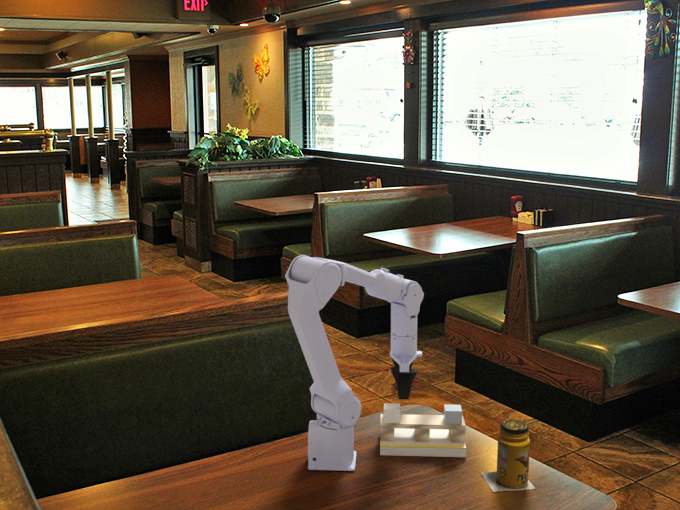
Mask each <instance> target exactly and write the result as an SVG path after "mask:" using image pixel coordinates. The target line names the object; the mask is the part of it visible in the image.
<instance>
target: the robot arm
mask: <svg viewBox="0 0 680 510" xmlns="http://www.w3.org/2000/svg"><path fill="white" fill-rule="evenodd" d="M284 277H285V279H286V282H287V285H288V292H287V296H288V297H287V313H288V316H289V318H290V321H291V323H292V326H293V327H292V328H293V329H294V332H295V334H296V337H297V339H298V343H299V345H300V346H299V347H301V348H300V349H301V351H302V353H303V356H304V359H305V361H306V362H305V363H306V364H307V367H308V370H309V373H310V375H311V378H312V380H313V383H312V384H311V386H310V387H309V391H310V396H311V397H310V399H311V400H310V405H311V406H310V407H311V409H312V410H313V411H314V412H315V413H316V419H315V420H313V419H312V420H310V421H309V423H308V431H307V435H308V436H307V457H308V459H307V460H308V462H307V463H308V465H307V469H308V470H309V471H338V472H339V471H342V472H343V471H344V472H347V471H348V472H354V471H355V470H356V463H357V461H356V460H357V451H356V450H354V449H355V447H354V446H355V443H354V442H355V440H354V439H355V438H354V437H355V433H354V431H355V428H354V427H355V425H356V423H357V422H358V420H359V419H360V417H361V413H362V409H363V408H362V403H361V400H360V399H359V398H358V397H356V395H355V394H354V392H353V389H352V388H351V387H350V385H349V384H348V383H347V382H346V381H345V380H344V379H343V378H342V376H341V373H340V371H339V370H340V369H339V367H338V365H337V362H336V359H335V356H334V354H333V350H332V347H331V344H330V342H329V339H328V336H327V333H326V330H325V327H324V323H323V321H322V319H321V316H320V311H321V310H322V309H323V308H324V307H325V306H326V305H327V303H328V302H329V301H330V299H331V298H332V297H333V295H334V294H335V293H336V292H337V290H338V289H339V287H343V286H345V283H346V282H347V283H350V284H353V285H357V286H361V287H364V289H365V291H366V293H367V294H368V295H369V296H371V297H374V298H377V299H381V300H384V301H386V302H388V303H390V351H389V356H390V359H391V360H392V363H393V365H394V366H390V372H391V375H392V377H393V379H394V382H395V385H396V392H397V397H398V399H399V400H409V398H410V395H411V392H412V391H411V390H412V387H413V386H412V385H413V383H414V380H415V378H416V376H417V374H418V369H417V368H412V367H413V364H414V362H415V360H416V359H417V358H421V357H423V351H420V350H418V315H419V313H420V310H421V309H420V307H421V304H422V302H423V300H424V297H425V295H424V294H425V292H424V291H423V289H422V286H421V285H420V284H419V283H418V282H417V281H415V280H411V279H407V278H404V275H402V274H399V273H398V274H393V273H391V272H390V269H387V268H385V267H380V269H379V268H376V269H372V270H371V271H370V272H369V271H367V270H364V269H362V268H359V267H357V266H354V265H351V264H350V263H346V262H343V261H338V260H334V259H328V258H324V257H318V256H313V257H311V256H309V255H307V254H301V255H297V256H296V257H294V258H293V259H292V261H291V262H290V264H289V266H288V269H287V270H286V273H285V275H284Z"/></svg>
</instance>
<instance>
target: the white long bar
mask: <svg viewBox="0 0 680 510" xmlns="http://www.w3.org/2000/svg"><path fill="white" fill-rule="evenodd" d="M379 423H380V424H379V425H380V426H379V427H380V428H379V429H380V430H379V431H380V433H379V442H380V441H394V428H406V429H415V442H430V429H449V436H450V441H451V443H465V444H466V426H467V425H466V422H465V417H464V415H462V425H458V424H445V421H444V414H404V413H402V414H401V413H400V423H384V413H380V422H379Z"/></svg>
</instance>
